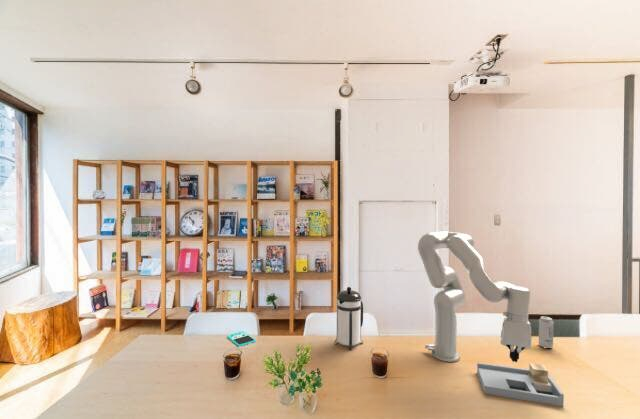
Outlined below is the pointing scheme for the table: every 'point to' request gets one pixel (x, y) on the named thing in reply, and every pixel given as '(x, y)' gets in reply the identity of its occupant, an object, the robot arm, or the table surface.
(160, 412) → the table surface
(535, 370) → the maple cube
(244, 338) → the handheld game console
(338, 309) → the coffee press
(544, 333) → the energy drink can
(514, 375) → the board
